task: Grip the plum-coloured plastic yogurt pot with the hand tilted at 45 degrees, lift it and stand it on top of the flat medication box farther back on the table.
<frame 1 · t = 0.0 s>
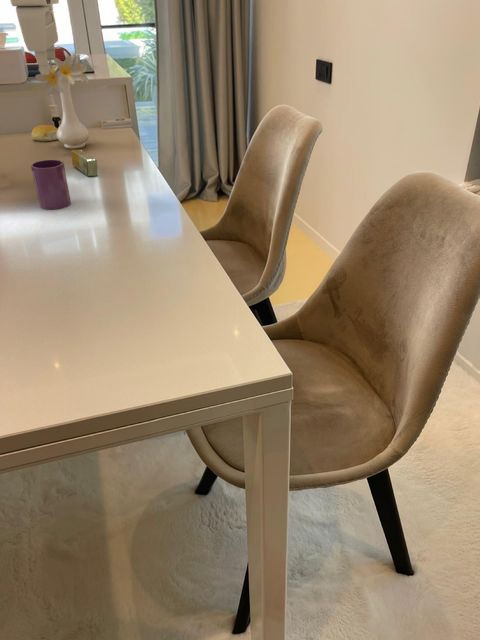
hand: (49, 71, 118), 26 cm above the table, tool pointing down, fingers open, 8 cm apart
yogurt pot: (55, 204, 126), on the table
bread roll: (47, 139, 176), on the table
flower vase: (76, 147, 168), on the table
medication box: (85, 171, 147), on the table
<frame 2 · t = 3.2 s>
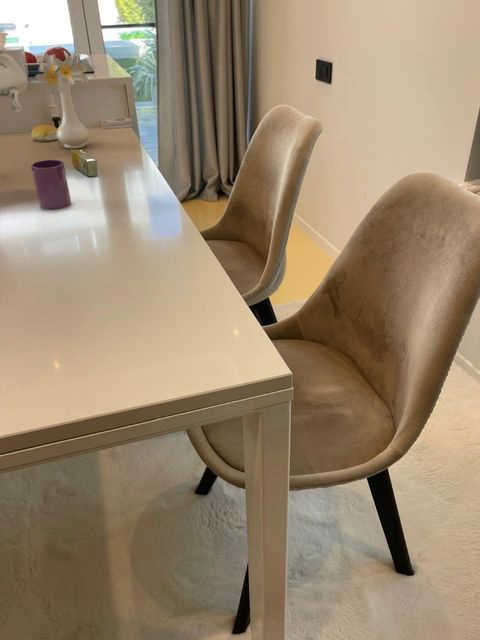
nothing on the table moved.
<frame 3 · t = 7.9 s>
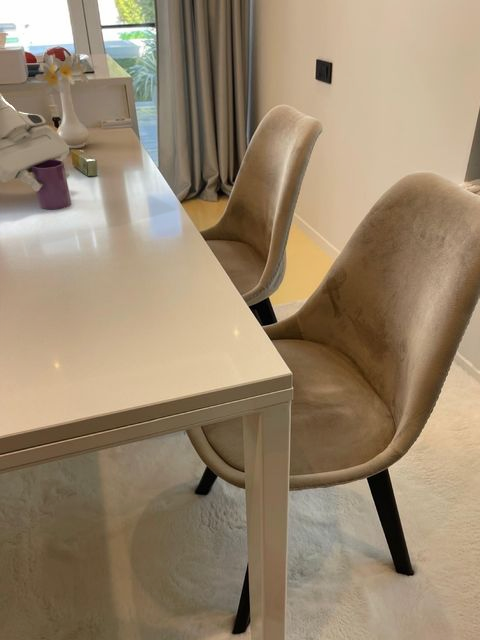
hand: (53, 183, 123), 5 cm above the table, tool tilted 45°, fingers closed on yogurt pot, 7 cm apart
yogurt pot: (55, 204, 126), on the table, touching gripper
everything else where it was.
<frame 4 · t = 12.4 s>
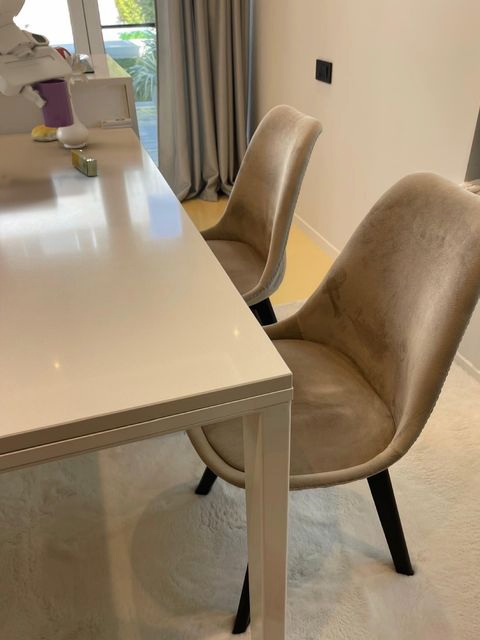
hand: (57, 102, 125), 19 cm above the table, tool tilted 45°, fingers closed on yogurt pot, 7 cm apart
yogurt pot: (59, 124, 128), point 14 cm above the table, touching gripper
everything else where it was.
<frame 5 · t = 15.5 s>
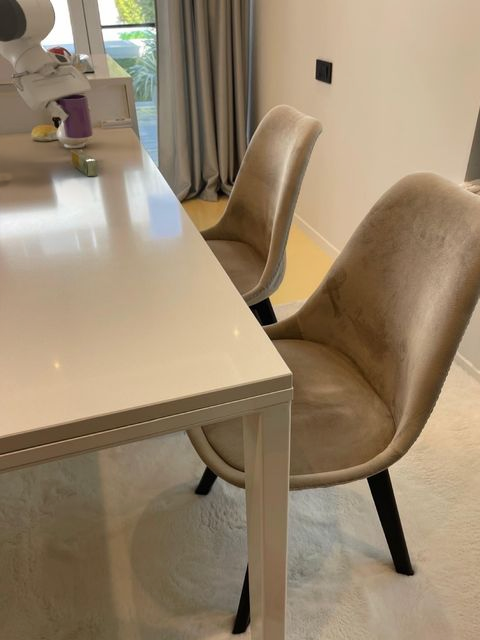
hand: (78, 115, 140), 14 cm above the table, tool tilted 45°, fingers closed on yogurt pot, 7 cm apart
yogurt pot: (79, 135, 142), point 9 cm above the table, touching gripper
everything else where it was.
when the fingers open (9 cm above the table, at t = 17.4 s): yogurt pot stays where it is, resting on medication box.
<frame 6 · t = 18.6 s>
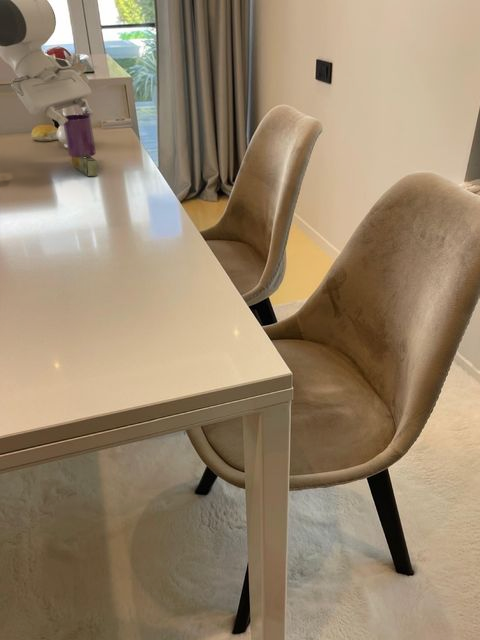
hand: (78, 119, 139), 13 cm above the table, tool tilted 45°, fingers open, 8 cm apart
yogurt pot: (82, 153, 145), point 4 cm above the table, touching medication box
medication box: (85, 171, 147), on the table, touching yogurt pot
everything else where it was.
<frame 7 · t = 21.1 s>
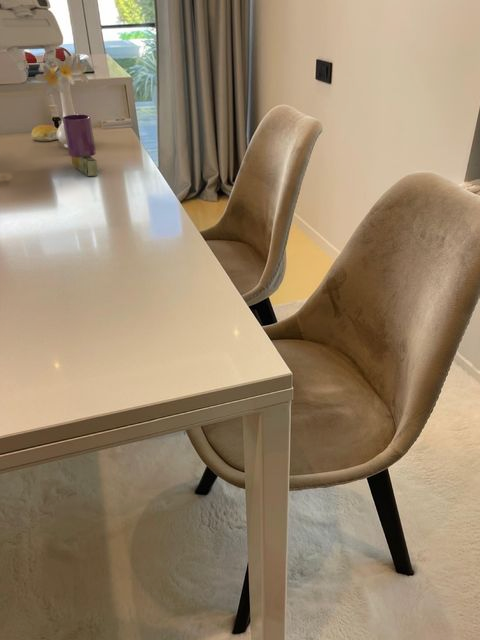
hand: (39, 68, 132), 25 cm above the table, tool tilted 20°, fingers open, 8 cm apart
nothing on the table moved.
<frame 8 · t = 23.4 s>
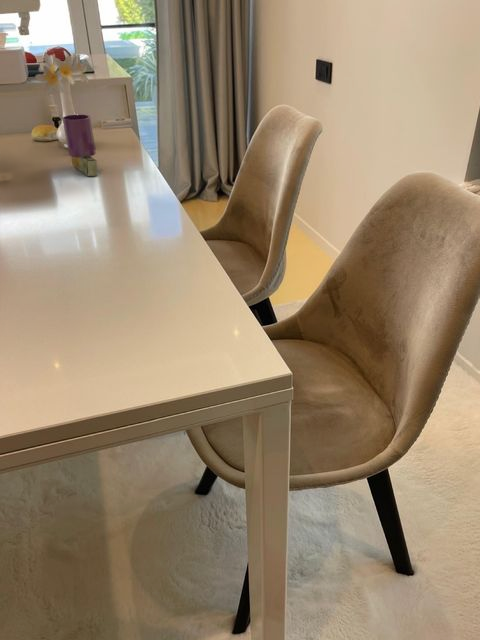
hand: (9, 36, 129), 31 cm above the table, tool pointing down, fingers open, 8 cm apart
nothing on the table moved.
at the end: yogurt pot inside the target area on the medication box (0.2 cm from its centre), point 4.5 cm above the medication box's base; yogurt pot tilted 0°; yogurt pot touching medication box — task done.
